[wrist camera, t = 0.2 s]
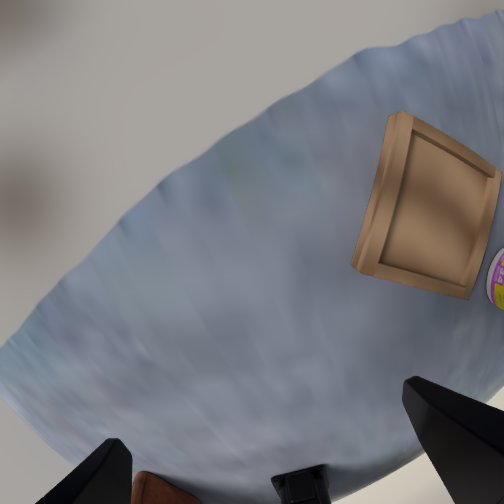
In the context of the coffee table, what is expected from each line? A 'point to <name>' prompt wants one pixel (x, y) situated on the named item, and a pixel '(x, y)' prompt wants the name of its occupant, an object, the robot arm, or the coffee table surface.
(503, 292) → the supplement bottle
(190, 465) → the coffee table surface
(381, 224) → the walnut tray
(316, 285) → the coffee table surface
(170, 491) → the wooden figurine
